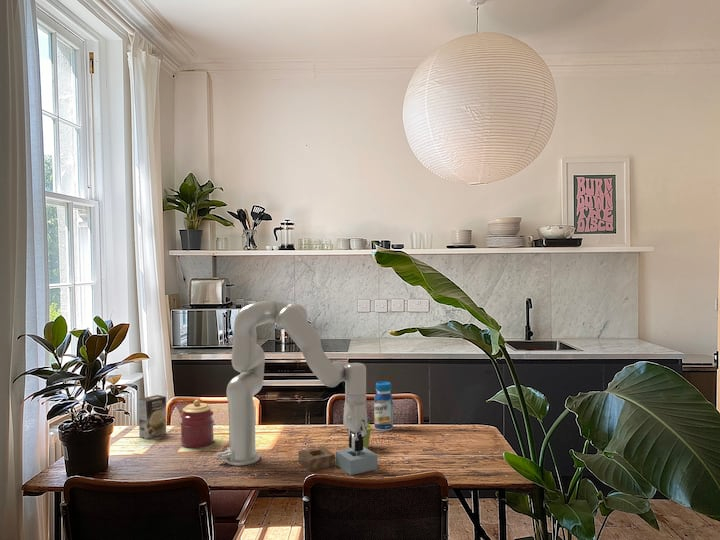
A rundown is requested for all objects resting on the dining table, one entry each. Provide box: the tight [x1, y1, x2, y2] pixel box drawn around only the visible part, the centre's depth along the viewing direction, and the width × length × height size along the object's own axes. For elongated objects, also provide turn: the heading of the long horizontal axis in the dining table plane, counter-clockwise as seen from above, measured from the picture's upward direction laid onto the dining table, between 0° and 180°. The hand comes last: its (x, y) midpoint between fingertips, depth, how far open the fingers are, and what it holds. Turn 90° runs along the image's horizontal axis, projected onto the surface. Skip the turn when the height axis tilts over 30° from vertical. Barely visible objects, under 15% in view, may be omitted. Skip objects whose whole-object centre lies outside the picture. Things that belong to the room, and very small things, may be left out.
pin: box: [352, 432, 361, 456], centre depth 195 cm, size 3×3×12 cm
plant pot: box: [360, 423, 373, 450], centre depth 214 cm, size 9×9×9 cm
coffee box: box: [138, 394, 167, 440], centre depth 232 cm, size 9×6×16 cm
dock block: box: [335, 447, 379, 476], centre depth 195 cm, size 11×11×5 cm
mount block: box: [298, 446, 336, 472], centre depth 198 cm, size 10×10×4 cm
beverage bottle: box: [373, 381, 394, 432], centre depth 238 cm, size 8×8×20 cm
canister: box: [179, 399, 215, 449], centre depth 222 cm, size 13×13×18 cm
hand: (356, 448), depth 195 cm, fingers open, 3 cm apart
